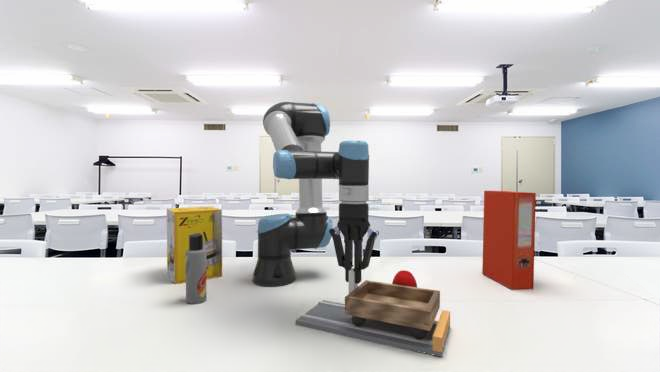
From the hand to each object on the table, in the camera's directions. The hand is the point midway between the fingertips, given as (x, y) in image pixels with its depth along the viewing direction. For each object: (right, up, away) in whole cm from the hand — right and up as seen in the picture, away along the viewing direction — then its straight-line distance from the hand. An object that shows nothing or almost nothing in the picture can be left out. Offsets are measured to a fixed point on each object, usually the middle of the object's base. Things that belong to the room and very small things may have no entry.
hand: (353, 295), depth 84 cm
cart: (+9, -5, -4) cm, 12 cm away
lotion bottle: (-46, -7, +15) cm, 49 cm away
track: (+5, -7, -2) cm, 9 cm away
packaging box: (-57, -6, +41) cm, 71 cm away
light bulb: (+15, -7, +10) cm, 19 cm away
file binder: (+57, -6, +34) cm, 66 cm away
